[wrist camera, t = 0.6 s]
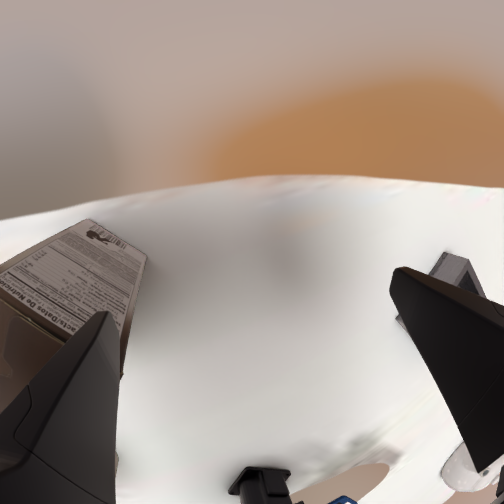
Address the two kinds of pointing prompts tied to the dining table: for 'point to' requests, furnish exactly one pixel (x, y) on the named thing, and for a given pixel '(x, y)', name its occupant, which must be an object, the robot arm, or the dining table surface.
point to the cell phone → (343, 500)
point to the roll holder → (455, 275)
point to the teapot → (469, 472)
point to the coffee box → (62, 298)
